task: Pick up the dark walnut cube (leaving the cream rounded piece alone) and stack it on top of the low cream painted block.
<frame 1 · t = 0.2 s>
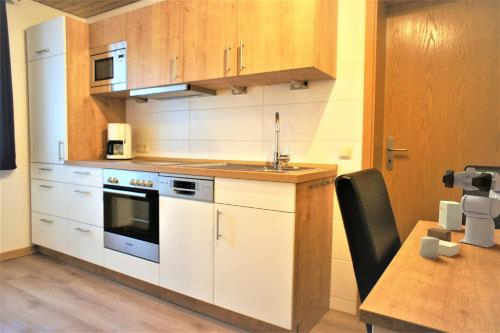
hand: (458, 180, 95), 21 cm above the table, tool horizontal, fingers open, 7 cm apart
cream rounded piece: (428, 256, 91), on the table
small box: (449, 228, 130), on the table
walnut cube: (438, 245, 103), on the table
cream block: (442, 253, 95), on the table
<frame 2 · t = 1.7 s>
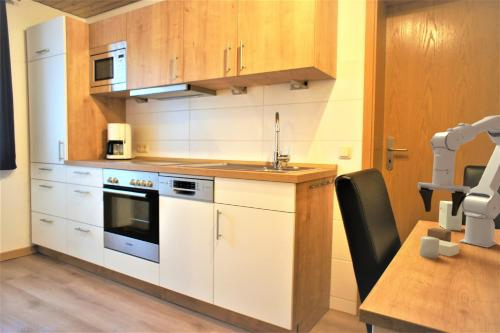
hand: (440, 213, 102), 10 cm above the table, tool pointing down, fingers open, 7 cm apart
nothing on the table moved.
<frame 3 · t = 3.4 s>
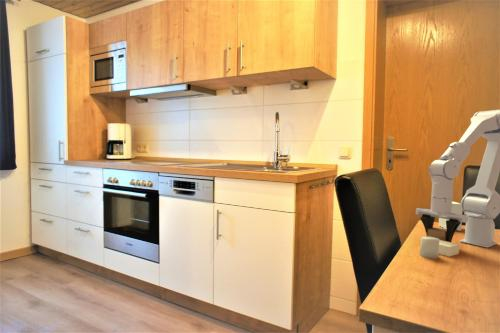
hand: (438, 240, 103), 1 cm above the table, tool pointing down, fingers closed on walnut cube, 5 cm apart
walnut cube: (438, 245, 103), on the table, touching gripper
everything else where it was.
when the fingers open (5 cm above the table, at t = 6.3 s): walnut cube stays where it is, resting on cream block.
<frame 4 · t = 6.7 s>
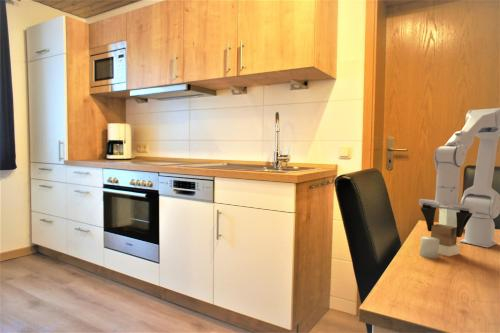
hand: (444, 233, 95), 5 cm above the table, tool pointing down, fingers open, 7 cm apart
walnut cube: (443, 243, 95), point 3 cm above the table, touching cream block
cream block: (442, 253, 95), on the table, touching walnut cube
everything else where it was.
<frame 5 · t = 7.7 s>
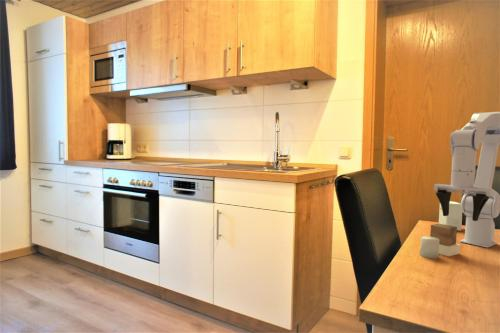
hand: (460, 218, 95), 10 cm above the table, tool pointing down, fingers open, 7 cm apart
walnut cube: (442, 242, 95), point 3 cm above the table
cream block: (442, 253, 95), on the table
everything else where it was.
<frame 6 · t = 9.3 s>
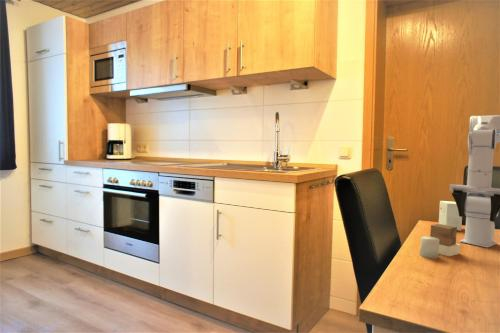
hand: (476, 218, 94), 10 cm above the table, tool pointing down, fingers open, 7 cm apart
walnut cube: (442, 243, 95), point 3 cm above the table, touching cream block
cream block: (443, 253, 95), on the table, touching walnut cube
everything else where it was.
at the end: walnut cube 0.5 cm off-centre on the cream block, point 3.0 cm above the cream block's base; walnut cube tilted 0°; cream rounded piece moved 0.1 cm from its start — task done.
